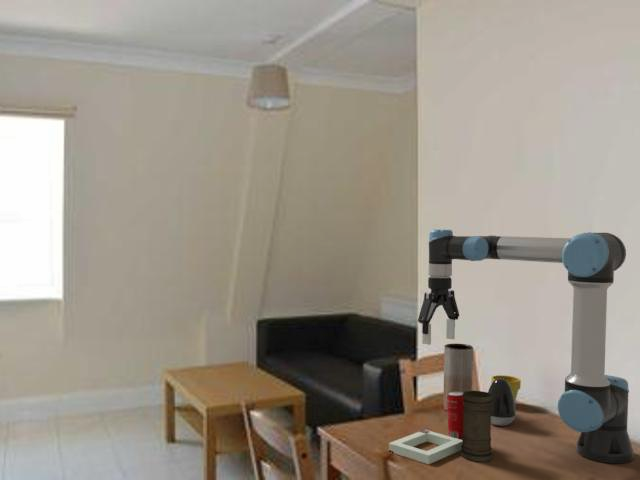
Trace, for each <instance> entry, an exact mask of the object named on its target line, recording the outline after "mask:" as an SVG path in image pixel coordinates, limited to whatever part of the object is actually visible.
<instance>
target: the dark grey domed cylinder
mask: <svg viewBox="0 0 640 480" xmlns="http://www.w3.org/2000/svg"><path fill="white" fill-rule="evenodd" d="M506 380H507V379H506V378H504V379H502V378H498V379H496V380H494V381H493V383H492V384H490V386H489V388H488V391H487V393H490V394H491V395H492V396H493V399H492V400H491V401H492V403H491V424H492V425H494V426H497V427H505V426H509V425H510V424H512V423H513V421H514V420H515V417H516V416H517V410H516V401H514V397H513V393H512V390H511V387H510V385H509V383H508V382H507V381H506Z"/></svg>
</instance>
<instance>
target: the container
mask: <svg viewBox="0 0 640 480" xmlns="http://www.w3.org/2000/svg"><path fill="white" fill-rule="evenodd" d="M462 396H463V398H464V399H463V401H464V407H463V409H464V413H463V436H462V438H463V444H462V446H461V448H462V450H460V455H461V457H462V458H464V460H465V459H466V460H469V461H473V462H481V463H482V462H488V461H491V460H492V459H493V452H492V451H493V449H492V437H491V435H492V434H491V428H492V427H491V426H492V425H491V424H492V423H491V403H492V401H491V400H492V399H493V396H492V395H491V394H490V393H488V391H482V390H472V391H466V392H464V393H463V395H462Z"/></svg>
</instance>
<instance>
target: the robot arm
mask: <svg viewBox="0 0 640 480" xmlns="http://www.w3.org/2000/svg"><path fill="white" fill-rule="evenodd" d="M453 234H454V232H453V230H451V229H431V230H430V231H429V235H428V275H429V277H428V278H427V279H428V281H427V283H428V284H427V287H428V289H430V292H424V294H423V295H424V296H423V300H422V301H423V302H422V305H421V308H420V311H419V315H418V319H417V322H418V323H419V324H421V325H422V330H421V332H422V339H421V340H422V341H421V343H422V344H424V345H430V346H431V345H432V323H431V321H432V318H433V317H434V314H435V312H436V311H437V309H438V308H439V307H440V306H442V308H443V310H444V311H445V313H446V316H447V319H446V331H445V332H446V336H445V337H446V339H447V340H455V328H456V320H459V317H460V311H459V309H458V304H457V300H456V297H455V295H456V294H455V290H453V289H452V284H453V282H452V281H453V280H452V278H451V277H452V276H453V260H459V261H460V260H461V261H470V262H474V261H475V262H478V261H479V262H480V261H484V260H504V261H505V260H506V261H507V260H508V261H521V262H540V263H554V264H555V263H556V264H557V263H558V264H562V265H563V266H564V268H565V269H566V270H567V282H568V283H569V284H570V285H571V286H572V287H573V290H572V291H573V294H572V295H573V296H572V297H573V298H572V325H571V326H572V328H571V359H570V360H571V362H570V363H571V365H570V373H569V374H568V375H566V376H565V378H564V392H563V393H562V394H561V396H560V397H559V399H558V402H557V410H558V411H557V412H558V414H559V416H560V418H561V420H562V421H563V422H564V424H565V425H567V427H569V428H570V429H571V430H573V431H576V432H580V434H579V436H578V440H577V442H576V452H577V453H578V454H579V455H580V456H582V457H584V458H587V459H588V460H592V461H596V462H601V463H607V464H609V463H610V464H624V463H629V462H631V461H633V459H634V448H633V445H632V442H631V437H630V436H629V432H628V417H629V416H628V415H629V411H628V410H629V393H630V390H629V382H628V381H627V379H625V378H623V377H620V376H619V377H618V376H615V375H609V374H605V370H606V368H605V367H606V340H607V339H606V335H607V333H606V332H607V307H608V306H607V304H608V303H607V302H608V289H609V288H610V287H611V286H612V285H613V284H614V279H615V278H614V277H615V271H617V270H618V269H620V268H621V267H622V266H623V264H624V263H625V261H626V257H627V250H626V246H625V244H624V242H623V240H622V239H620V237H618V236H616V235H615V234H613V233H610V232H592V231H591V232H583V233H579V234H576V235H575V236H573V237H570V238H569V237H565V238H564V237H539V236H538V237H536V236H535V237H533V236H506V235H505V236H499V235H497V236H496V235H482V236H481V235H478V236H477V235H476V236H475V235H473V236H471V235H470V236H469V235H468V236H466V235H465V236H463V235H460V236H459V235H458V236H457V235H453Z"/></svg>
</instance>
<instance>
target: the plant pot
mask: <svg viewBox="0 0 640 480" xmlns="http://www.w3.org/2000/svg"><path fill="white" fill-rule="evenodd" d="M498 378H502V379H504V378H506V379H507V380H506V381H507V382H508V383H509V385H510V387H511V390H512V393H513V397H514V401H515V402H516V400H517V397H518V392H519V390H520V389H521V379H520V378H519V377H516V376H511V375H500V374H499V375H498V374H497V375H493V376H491V382H490V383H491V384H492V383H493V381H494V380H496V379H498ZM491 384H490V385H491Z"/></svg>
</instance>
